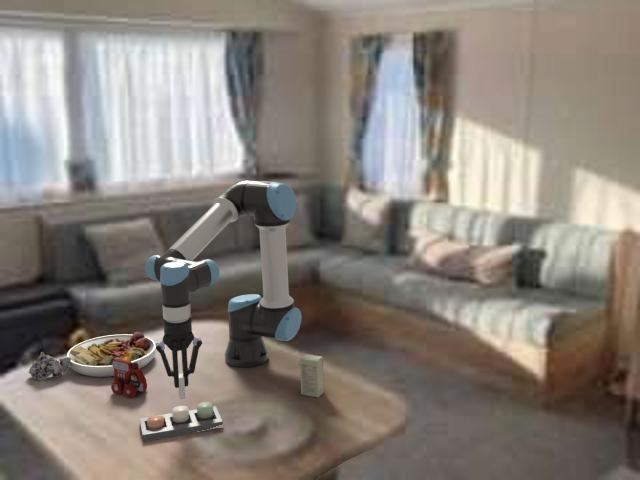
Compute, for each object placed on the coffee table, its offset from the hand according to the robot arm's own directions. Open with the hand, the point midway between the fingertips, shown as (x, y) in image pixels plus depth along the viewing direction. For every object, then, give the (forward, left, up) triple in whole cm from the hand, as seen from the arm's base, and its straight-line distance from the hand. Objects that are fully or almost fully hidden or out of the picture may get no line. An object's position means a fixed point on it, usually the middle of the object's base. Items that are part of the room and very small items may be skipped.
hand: (182, 396), depth 189 cm
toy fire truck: (+13, -28, -9) cm, 32 cm away
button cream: (+1, 0, -6) cm, 6 cm away
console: (+1, 0, -9) cm, 9 cm away
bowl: (+17, -55, -9) cm, 58 cm away
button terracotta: (+8, 0, -8) cm, 11 cm away
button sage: (-6, 0, -6) cm, 9 cm away
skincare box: (-41, -7, -9) cm, 43 cm away
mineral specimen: (+38, -49, -9) cm, 62 cm away
